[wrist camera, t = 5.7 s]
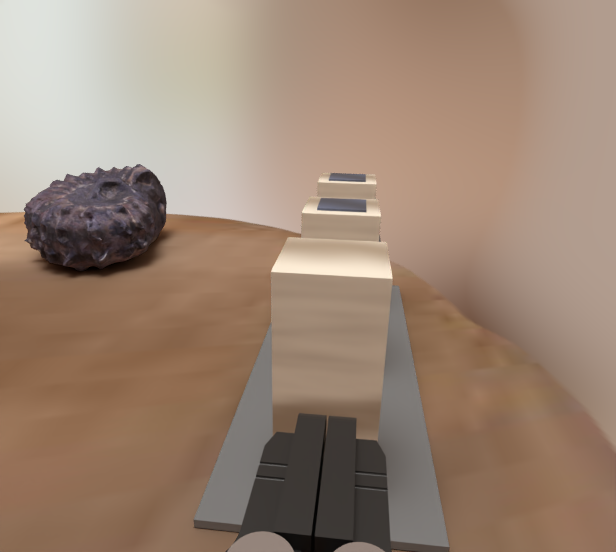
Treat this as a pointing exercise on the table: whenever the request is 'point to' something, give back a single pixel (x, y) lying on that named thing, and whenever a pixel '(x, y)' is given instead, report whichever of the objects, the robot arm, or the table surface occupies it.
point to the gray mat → (391, 437)
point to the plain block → (330, 331)
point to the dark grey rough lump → (97, 217)
